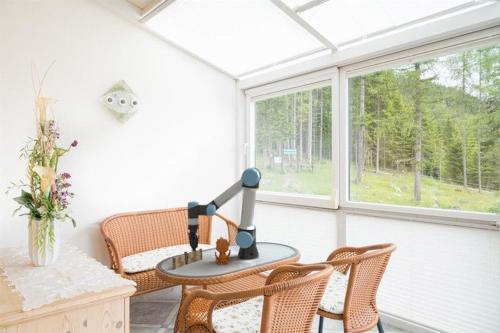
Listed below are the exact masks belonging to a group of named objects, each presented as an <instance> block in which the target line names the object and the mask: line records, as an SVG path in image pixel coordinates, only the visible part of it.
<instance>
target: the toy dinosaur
mask: <svg viewBox="0 0 500 333" xmlns="http://www.w3.org/2000/svg"><path fill="white" fill-rule="evenodd" d="M215 245H216V246H215V252H214V257H215V263H216V264H218V265H220V266H225V265H227V264H228V263H230V261H231V258H230V256H231V252H232V251H231V249H230V248H229V247H230V242H229V240H228V239H227V238H224V237H222V236H220V238H217V239H216V242H215ZM217 252H218V254H219V255H218V254H217ZM227 252H228V253H227Z"/></svg>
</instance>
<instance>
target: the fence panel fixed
mask: <svg viewBox="0 0 500 333" xmlns="http://www.w3.org/2000/svg"><path fill="white" fill-rule="evenodd" d="M187 253H188V251H184V252H183V254H182V255H179V256H177V257H172V259H171V260H172V261H171V262H172V270H177V269H179V268H182V267H184V266H185V265H188V263H187Z"/></svg>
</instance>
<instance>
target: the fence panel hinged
mask: <svg viewBox="0 0 500 333" xmlns="http://www.w3.org/2000/svg"><path fill="white" fill-rule="evenodd" d="M201 260H202V261H203V249H202V248H199V249H196V251H193V252H192V251H190V252H187V265H188V264H191V263H195V262H200V261H201Z"/></svg>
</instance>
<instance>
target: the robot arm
mask: <svg viewBox="0 0 500 333" xmlns="http://www.w3.org/2000/svg"><path fill="white" fill-rule="evenodd" d="M261 179H262V173H261V171H260V169H258V168H256V167H248V168H246V169H245V170H244V171H243V172H242V174H241V177H240V179H239V180H238V181H236V182H235V183H233V184H232V185H231V186H229V187H228V188H226V189H225V190H224V191H223V192H222V193H220V194H219V195H217V197H215V198H214V199H212V200H211V201H210V202H208V203H206V204H199V202H198V201H189V202H188V203H187V209H186V210H187V230H189V231H188V232H187V236H188V243H189V247H190V248H191V252H193V251H196V250H197V248H198V247H199V240H200V235H199V234H198V231H199V229H200V228H199V227H200V224H199V223H200V222H199V221H200V219H199V217H200V216H205V217H206V216H207V217H211V216H215V215H216V213H217V211H218V210H219V209H220V208H221V207H223V206H224V205H226V204H227V203H228V202H230V201H231V200H232V199H234V198H235V197H236V196H238V194H241V192H243V195H242V201H241V214H240V220H239V221H240V222H239V223H240V224H238V225H237V229H236V230H237V231H236V235H235V244H236V245H237V246H238V247H239V248H238V252H237V257H238V258H239V259H243V260H254V259H257V258H259V257H260V253H259V250H258V247H257V226H256V225H255V224H254V214H255V206H256V196H257V194H256V193H257V191H258V190H259V189H260V182H261Z"/></svg>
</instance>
